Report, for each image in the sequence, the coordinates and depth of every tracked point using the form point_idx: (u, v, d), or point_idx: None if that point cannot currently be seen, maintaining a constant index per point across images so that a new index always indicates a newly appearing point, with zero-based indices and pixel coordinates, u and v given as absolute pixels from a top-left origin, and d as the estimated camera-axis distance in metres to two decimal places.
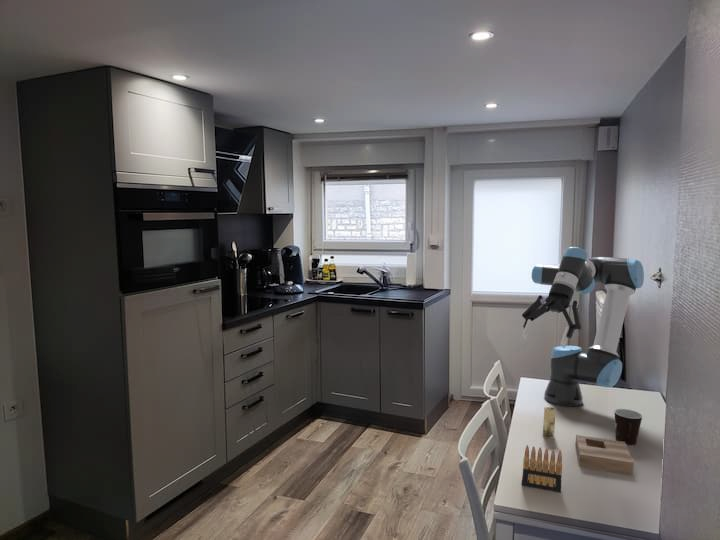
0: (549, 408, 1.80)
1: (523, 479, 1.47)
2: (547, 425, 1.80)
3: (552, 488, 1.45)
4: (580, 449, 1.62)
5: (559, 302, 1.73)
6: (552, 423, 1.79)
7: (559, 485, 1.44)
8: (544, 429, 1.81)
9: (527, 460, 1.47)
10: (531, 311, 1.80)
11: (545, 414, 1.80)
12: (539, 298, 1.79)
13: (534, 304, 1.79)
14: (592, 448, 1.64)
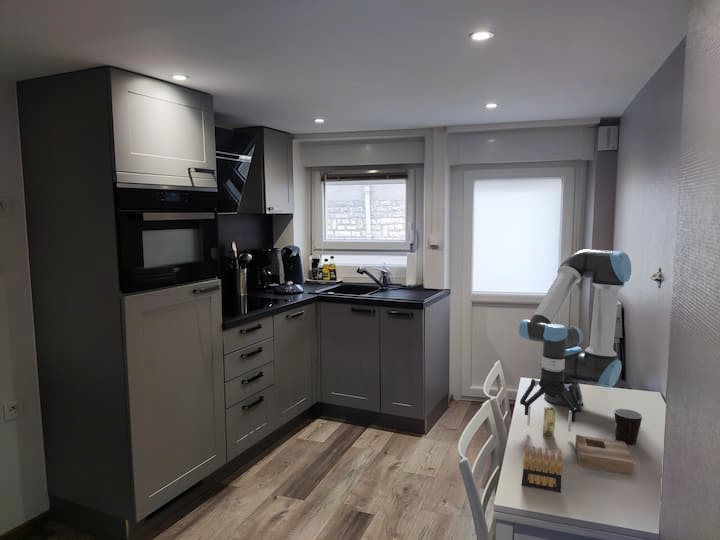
0: (549, 408, 1.80)
1: (523, 479, 1.47)
2: (547, 425, 1.80)
3: (552, 488, 1.45)
4: (580, 449, 1.62)
5: (556, 389, 1.77)
6: (552, 423, 1.79)
7: (559, 485, 1.44)
8: (544, 429, 1.81)
9: (527, 460, 1.47)
10: (527, 396, 1.82)
11: (545, 414, 1.80)
12: (533, 384, 1.80)
13: (529, 391, 1.81)
14: (592, 448, 1.64)
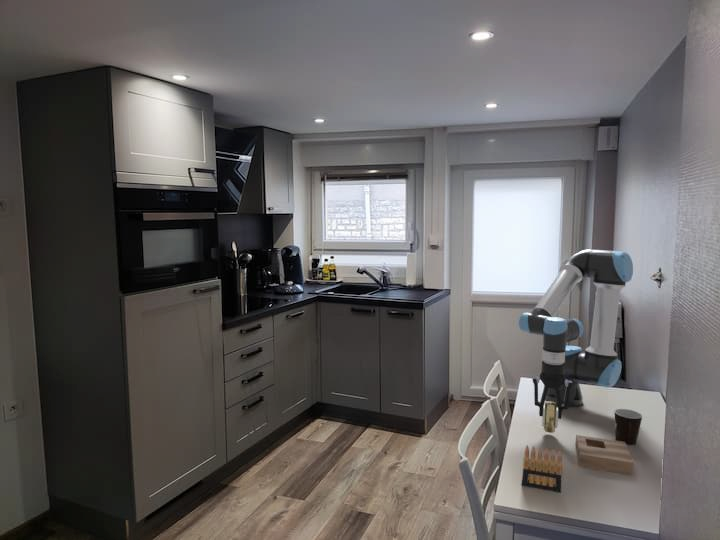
0: (550, 403, 1.81)
1: (523, 479, 1.47)
2: (548, 420, 1.80)
3: (552, 488, 1.45)
4: (580, 449, 1.62)
5: (556, 383, 1.77)
6: (553, 418, 1.80)
7: (559, 485, 1.44)
8: (545, 424, 1.81)
9: (527, 460, 1.47)
10: None
11: (546, 409, 1.80)
12: (535, 382, 1.80)
13: (536, 389, 1.80)
14: (592, 448, 1.64)
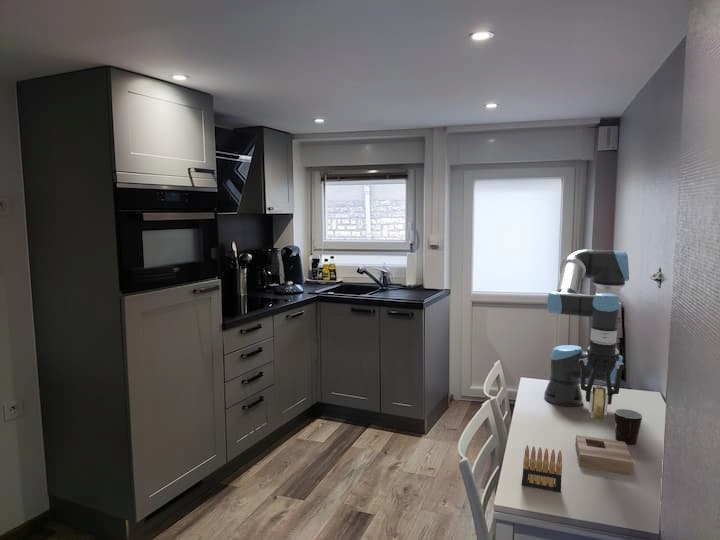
0: (598, 387, 1.65)
1: (523, 479, 1.47)
2: (596, 406, 1.64)
3: (552, 488, 1.45)
4: (580, 449, 1.62)
5: (606, 365, 1.62)
6: (602, 403, 1.64)
7: (559, 485, 1.44)
8: (593, 410, 1.65)
9: (527, 460, 1.47)
10: (584, 379, 1.66)
11: (594, 394, 1.65)
12: (582, 364, 1.65)
13: (583, 372, 1.65)
14: (592, 448, 1.64)
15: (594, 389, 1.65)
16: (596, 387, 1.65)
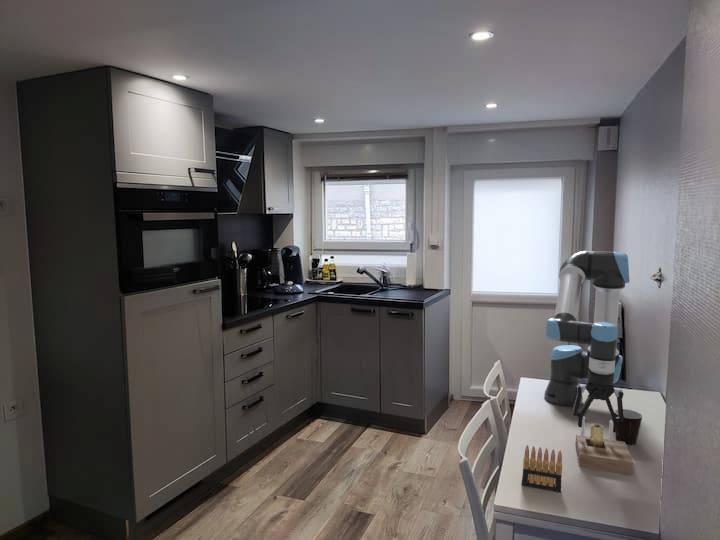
0: (596, 425, 1.66)
1: (523, 479, 1.47)
2: (594, 444, 1.66)
3: (552, 488, 1.45)
4: (580, 449, 1.62)
5: (605, 394, 1.63)
6: (600, 442, 1.65)
7: (559, 485, 1.44)
8: None
9: (527, 460, 1.47)
10: (578, 405, 1.67)
11: (592, 432, 1.66)
12: (580, 390, 1.66)
13: (579, 399, 1.66)
14: (592, 448, 1.64)
15: (592, 427, 1.66)
16: (594, 425, 1.66)
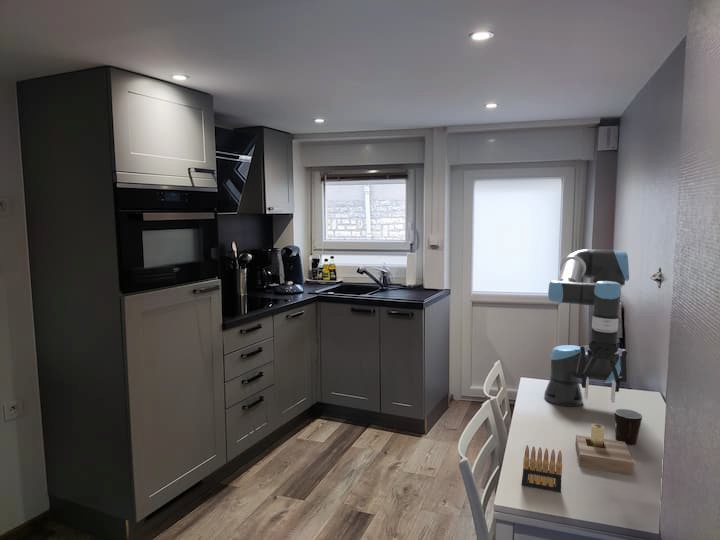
0: (597, 426, 1.66)
1: (523, 479, 1.47)
2: (595, 444, 1.65)
3: (552, 488, 1.45)
4: (580, 449, 1.62)
5: (608, 352, 1.61)
6: (600, 442, 1.65)
7: (559, 485, 1.44)
8: None
9: (527, 460, 1.47)
10: None
11: (593, 432, 1.66)
12: (583, 350, 1.64)
13: (582, 358, 1.65)
14: (592, 448, 1.64)
15: (593, 428, 1.66)
16: (595, 425, 1.66)
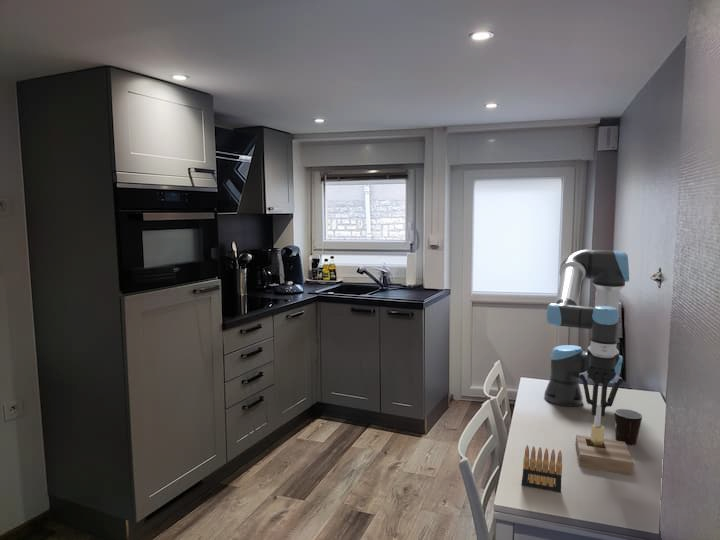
0: None
1: (523, 479, 1.47)
2: (595, 444, 1.65)
3: (552, 488, 1.45)
4: (580, 449, 1.62)
5: (606, 377, 1.62)
6: (601, 442, 1.65)
7: (559, 485, 1.44)
8: None
9: (527, 460, 1.47)
10: (588, 392, 1.66)
11: (593, 432, 1.66)
12: (583, 378, 1.65)
13: (586, 386, 1.65)
14: (592, 448, 1.64)
15: (593, 428, 1.66)
16: None
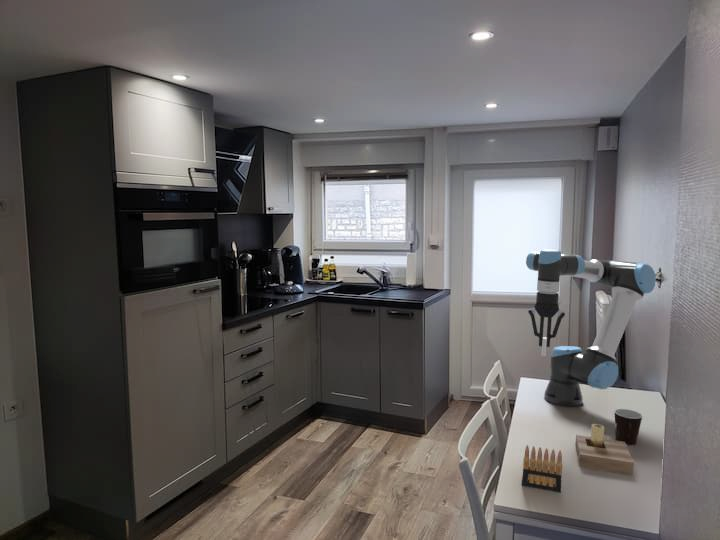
0: (597, 426, 1.66)
1: (523, 479, 1.47)
2: (595, 444, 1.65)
3: (552, 488, 1.45)
4: (580, 449, 1.62)
5: (550, 312, 1.85)
6: (601, 442, 1.65)
7: (559, 485, 1.44)
8: None
9: (527, 460, 1.47)
10: (536, 326, 1.89)
11: (593, 432, 1.66)
12: (531, 313, 1.88)
13: (533, 320, 1.88)
14: (592, 448, 1.64)
15: (593, 428, 1.66)
16: (595, 426, 1.66)
